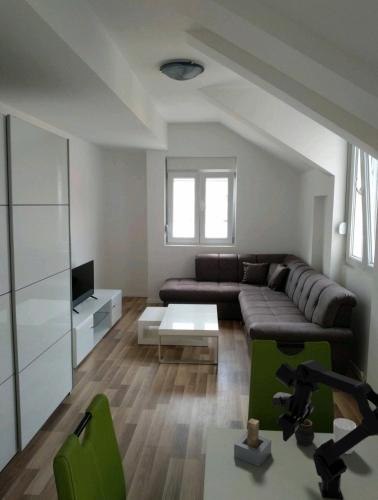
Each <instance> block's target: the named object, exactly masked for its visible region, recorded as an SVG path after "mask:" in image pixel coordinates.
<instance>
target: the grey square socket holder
mask: <svg viewBox="0 0 378 500" xmlns="http://www.w3.org/2000/svg"><path fill="white" fill-rule="evenodd" d="M247 434H248V431H246V432H245V433H243V434H242V436H241V437H239V438H238V440H236V441H235V443H234V444H233V445H234V446H233V458H234V457H235V458H236V459H239V460H242V461H244V462H246V463H249V464H252V465H253V466H256V467H258V468H260V467H261V465H262V464H263V463H264V461H266V459H267V458H268V457H269V456H270V454H271V453H272V440H271V439H269V438H266V437H263V436H261V435H259V437H258V448H257V449H255V448H253V447H250V446H248V445H247Z"/></svg>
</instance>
